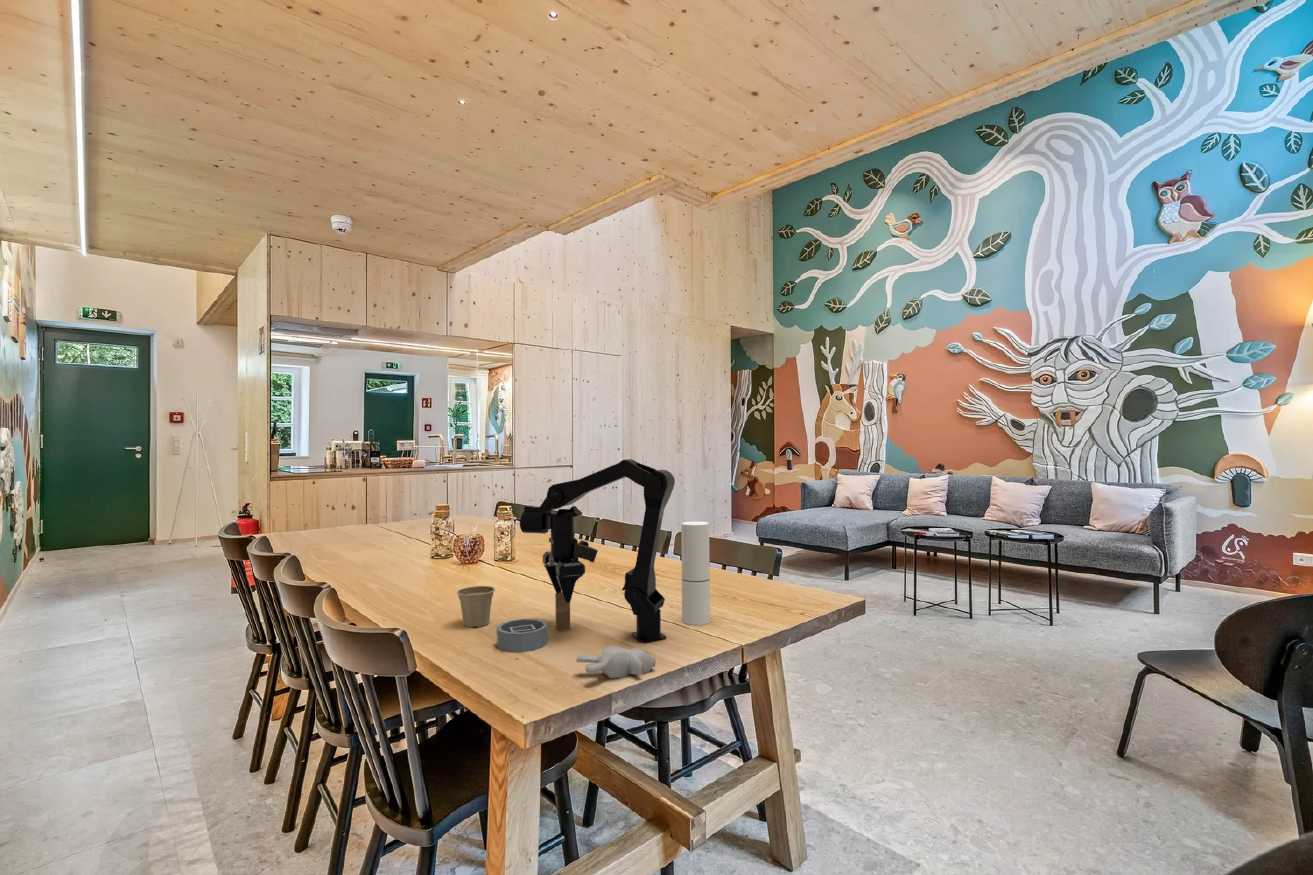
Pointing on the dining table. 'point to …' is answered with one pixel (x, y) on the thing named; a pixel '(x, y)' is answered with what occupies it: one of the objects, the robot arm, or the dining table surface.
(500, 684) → the dining table surface
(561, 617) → the brown rectangular block
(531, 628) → the clip
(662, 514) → the robot arm
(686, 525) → the cylindrical container
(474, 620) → the flower pot
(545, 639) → the blue-grey round dish
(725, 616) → the dining table surface
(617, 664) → the bunny figurine
